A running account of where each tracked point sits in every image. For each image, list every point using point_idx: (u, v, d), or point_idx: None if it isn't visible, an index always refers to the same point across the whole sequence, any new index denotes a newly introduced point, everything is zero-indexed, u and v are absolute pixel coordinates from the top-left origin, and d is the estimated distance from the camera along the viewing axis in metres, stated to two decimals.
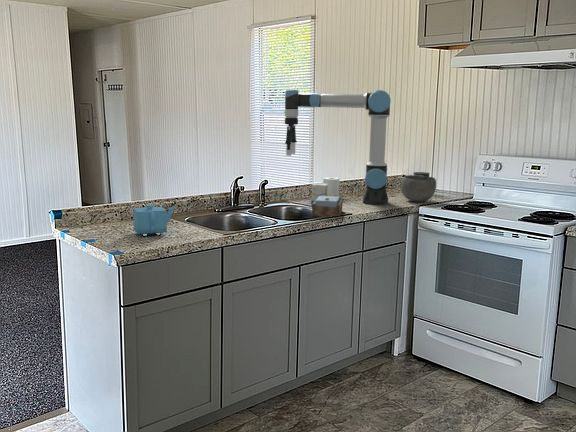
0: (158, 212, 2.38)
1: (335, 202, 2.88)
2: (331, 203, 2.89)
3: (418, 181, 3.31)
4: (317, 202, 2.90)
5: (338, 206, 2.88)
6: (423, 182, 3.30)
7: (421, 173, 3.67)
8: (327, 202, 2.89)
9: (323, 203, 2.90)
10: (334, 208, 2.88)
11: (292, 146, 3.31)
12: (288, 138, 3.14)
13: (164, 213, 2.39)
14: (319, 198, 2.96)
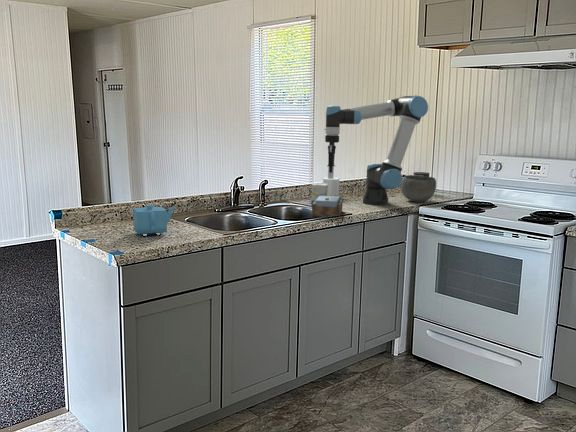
0: (158, 212, 2.38)
1: (335, 202, 2.88)
2: (331, 203, 2.89)
3: (418, 181, 3.31)
4: (317, 202, 2.90)
5: (338, 206, 2.88)
6: (423, 182, 3.30)
7: (421, 173, 3.67)
8: (327, 202, 2.89)
9: (323, 203, 2.90)
10: (334, 208, 2.88)
11: None
12: (330, 161, 3.03)
13: (164, 213, 2.39)
14: (319, 198, 2.96)
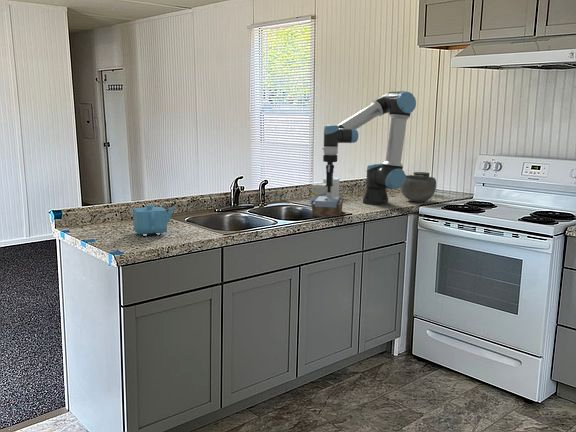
0: (158, 212, 2.38)
1: (334, 202, 2.87)
2: (330, 203, 2.88)
3: (418, 181, 3.31)
4: (316, 202, 2.89)
5: (338, 206, 2.88)
6: (423, 182, 3.30)
7: (421, 173, 3.67)
8: (326, 202, 2.88)
9: (322, 203, 2.88)
10: (334, 208, 2.88)
11: None
12: (328, 181, 2.98)
13: (164, 213, 2.39)
14: (319, 198, 2.95)
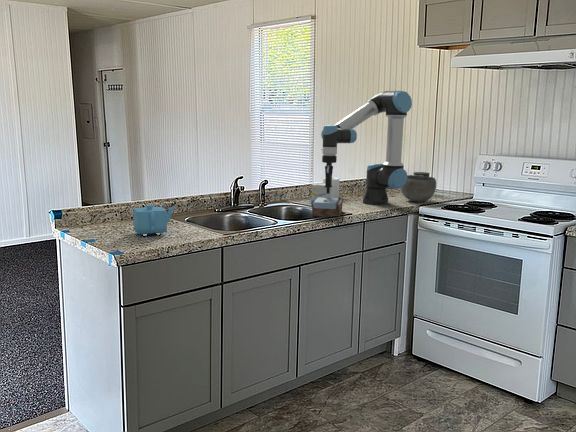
0: (158, 212, 2.38)
1: (333, 204, 2.83)
2: (329, 205, 2.83)
3: (418, 181, 3.31)
4: (315, 204, 2.84)
5: (338, 206, 2.88)
6: (423, 182, 3.30)
7: (421, 173, 3.67)
8: (325, 204, 2.83)
9: (321, 205, 2.84)
10: None
11: None
12: (327, 182, 2.94)
13: (164, 213, 2.39)
14: (317, 200, 2.91)
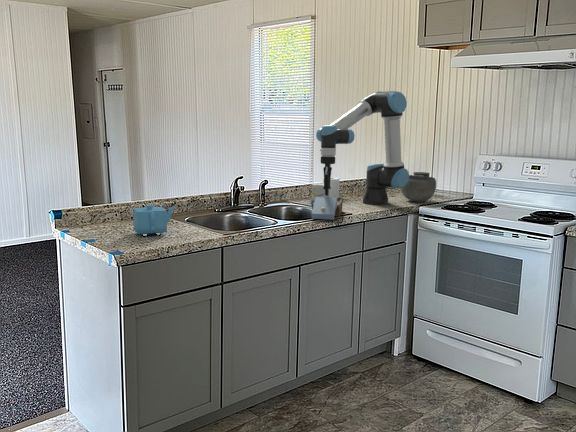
0: (158, 212, 2.38)
1: (332, 215, 2.77)
2: (328, 216, 2.78)
3: (418, 181, 3.31)
4: (313, 215, 2.79)
5: (338, 206, 2.88)
6: (423, 182, 3.30)
7: (421, 173, 3.67)
8: (323, 215, 2.78)
9: (319, 216, 2.79)
10: None
11: None
12: (326, 184, 2.87)
13: (164, 213, 2.39)
14: (315, 206, 2.84)
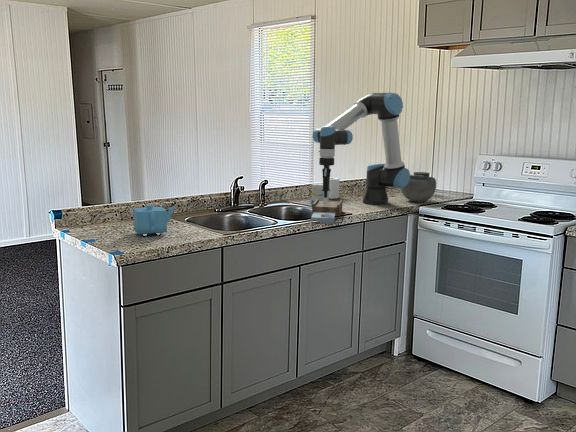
0: (158, 212, 2.38)
1: (332, 219, 2.73)
2: (327, 220, 2.73)
3: (418, 181, 3.31)
4: (313, 219, 2.74)
5: (338, 206, 2.88)
6: (423, 182, 3.30)
7: (421, 173, 3.67)
8: (323, 219, 2.73)
9: (319, 220, 2.74)
10: (334, 208, 2.88)
11: None
12: (325, 186, 2.82)
13: (164, 213, 2.39)
14: (314, 214, 2.81)
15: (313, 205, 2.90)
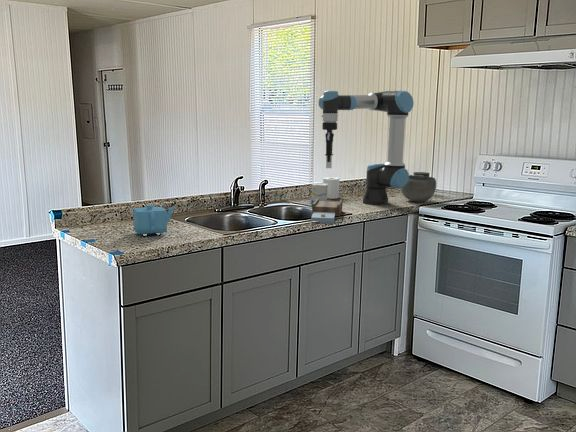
0: (158, 212, 2.38)
1: (332, 219, 2.73)
2: (328, 220, 2.73)
3: (418, 181, 3.31)
4: (313, 219, 2.74)
5: (338, 206, 2.88)
6: (423, 182, 3.30)
7: (421, 173, 3.67)
8: (324, 219, 2.73)
9: (319, 220, 2.74)
10: (334, 208, 2.88)
11: None
12: (328, 150, 2.86)
13: (164, 213, 2.39)
14: (314, 214, 2.80)
15: (313, 205, 2.90)
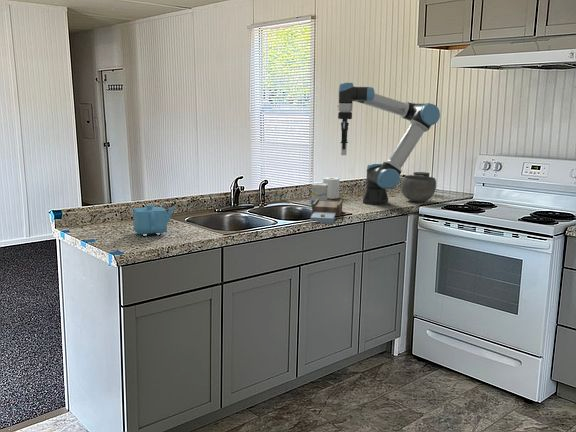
0: (158, 212, 2.38)
1: (331, 219, 2.73)
2: (327, 220, 2.73)
3: (418, 181, 3.31)
4: (312, 219, 2.74)
5: (338, 206, 2.88)
6: (423, 182, 3.30)
7: (421, 173, 3.67)
8: (323, 219, 2.73)
9: (318, 220, 2.74)
10: (334, 208, 2.88)
11: None
12: (343, 138, 3.05)
13: (164, 213, 2.39)
14: (314, 214, 2.81)
15: (313, 205, 2.90)
